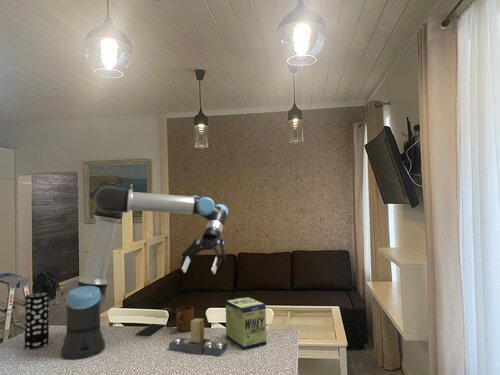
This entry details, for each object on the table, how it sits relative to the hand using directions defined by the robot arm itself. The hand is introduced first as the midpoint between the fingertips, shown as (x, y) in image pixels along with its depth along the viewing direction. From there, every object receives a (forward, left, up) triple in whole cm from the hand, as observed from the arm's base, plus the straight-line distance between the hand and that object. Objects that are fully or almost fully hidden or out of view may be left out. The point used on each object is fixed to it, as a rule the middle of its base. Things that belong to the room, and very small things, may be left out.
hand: (197, 271), depth 143 cm
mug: (-12, +8, -28) cm, 31 cm away
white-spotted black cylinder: (-62, -22, -28) cm, 71 cm away
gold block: (+4, -9, -28) cm, 29 cm away
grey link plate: (+4, -9, -28) cm, 29 cm away
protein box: (+19, +4, -28) cm, 34 cm away
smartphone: (-26, +5, -28) cm, 39 cm away
